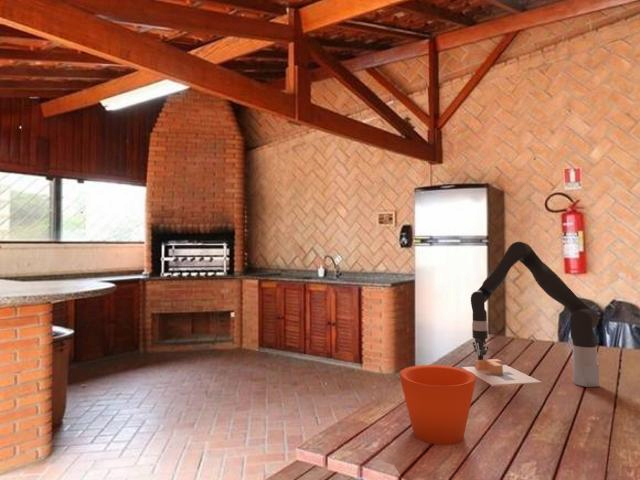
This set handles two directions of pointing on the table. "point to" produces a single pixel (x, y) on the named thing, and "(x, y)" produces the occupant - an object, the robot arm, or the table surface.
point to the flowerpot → (438, 401)
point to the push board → (503, 376)
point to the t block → (490, 365)
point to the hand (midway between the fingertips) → (480, 362)
